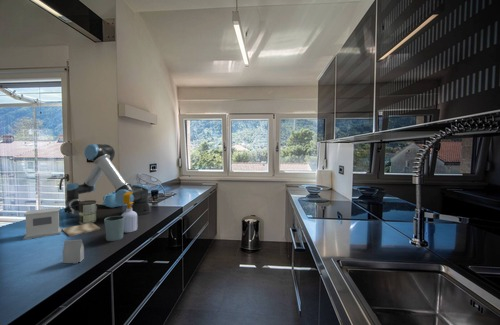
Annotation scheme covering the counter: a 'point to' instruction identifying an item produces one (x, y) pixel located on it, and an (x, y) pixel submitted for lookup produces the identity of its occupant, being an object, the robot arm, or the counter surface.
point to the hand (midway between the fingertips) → (85, 209)
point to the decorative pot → (111, 200)
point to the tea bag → (73, 251)
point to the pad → (80, 229)
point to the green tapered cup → (114, 228)
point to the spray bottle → (129, 215)
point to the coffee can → (87, 211)
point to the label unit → (42, 223)
